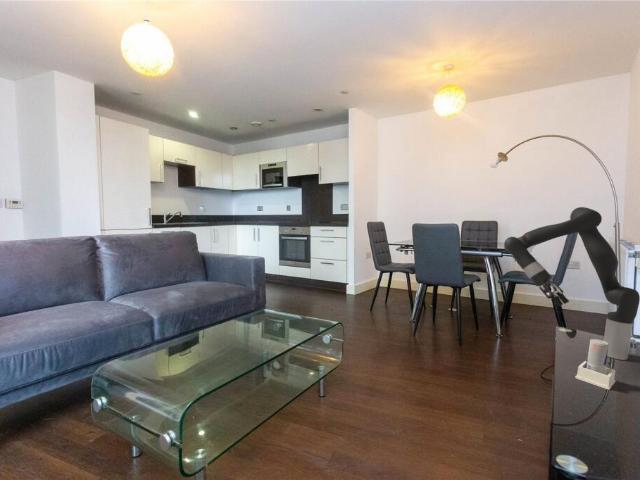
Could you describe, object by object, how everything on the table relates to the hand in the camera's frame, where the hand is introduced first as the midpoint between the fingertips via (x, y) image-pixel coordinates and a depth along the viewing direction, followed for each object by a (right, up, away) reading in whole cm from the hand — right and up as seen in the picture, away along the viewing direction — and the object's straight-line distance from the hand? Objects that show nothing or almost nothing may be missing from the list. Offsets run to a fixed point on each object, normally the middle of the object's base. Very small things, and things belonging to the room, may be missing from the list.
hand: (563, 304), depth 146 cm
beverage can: (+2, -27, -13) cm, 30 cm away
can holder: (+2, -28, -14) cm, 31 cm away
